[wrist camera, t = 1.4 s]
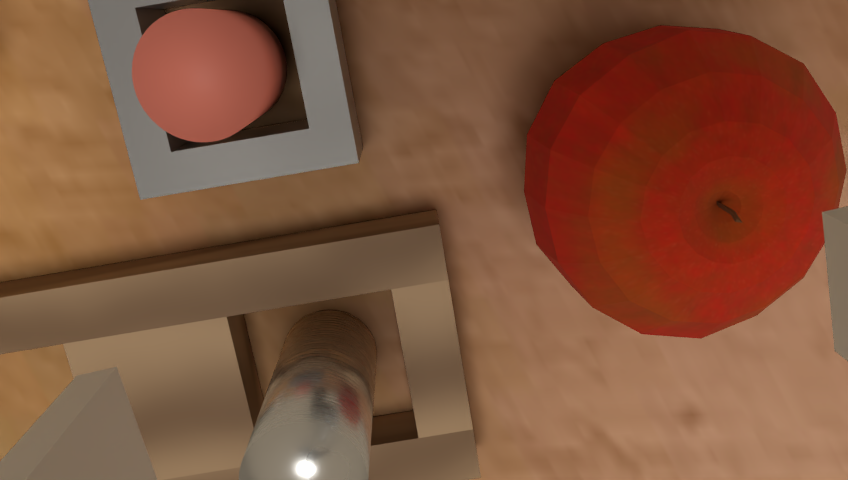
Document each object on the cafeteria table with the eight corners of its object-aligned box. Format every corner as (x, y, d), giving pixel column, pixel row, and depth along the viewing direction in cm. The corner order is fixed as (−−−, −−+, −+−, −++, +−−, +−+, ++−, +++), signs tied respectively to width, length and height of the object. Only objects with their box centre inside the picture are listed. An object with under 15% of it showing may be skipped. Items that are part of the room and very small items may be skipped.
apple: (668, 310, 35) (794, 447, 24) (459, 209, 33) (489, 303, 22) (798, 96, 33) (1005, 135, 21) (580, -23, 31) (680, -46, 20)
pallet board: (-135, 305, 34) (-176, 327, 31) (436, 209, 33) (439, 224, 31) (-51, 532, 37) (-83, 568, 34) (475, 446, 36) (481, 477, 34)
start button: (164, 20, 29) (116, 20, 24) (274, 1, 29) (248, -3, 24) (190, 130, 30) (150, 151, 25) (297, 112, 30) (277, 131, 25)
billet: (274, 318, 34) (225, 434, 25) (367, 302, 34) (355, 413, 25) (293, 403, 35) (254, 546, 26) (384, 388, 35) (378, 526, 26)
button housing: (115, -26, 31) (79, -31, 27) (324, -62, 31) (314, -72, 27) (167, 181, 33) (140, 199, 29) (363, 148, 33) (358, 162, 29)
